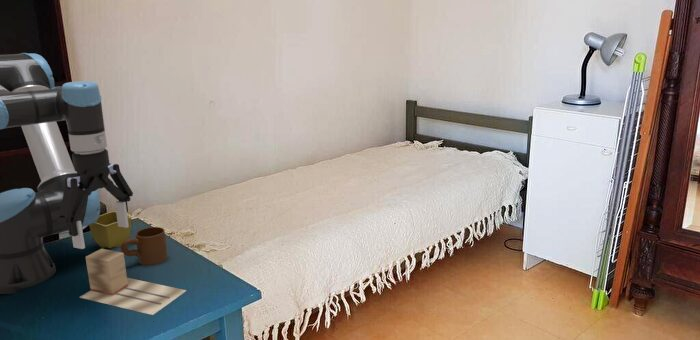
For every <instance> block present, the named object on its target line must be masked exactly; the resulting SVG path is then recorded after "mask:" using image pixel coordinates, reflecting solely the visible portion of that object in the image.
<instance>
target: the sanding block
mask: <svg viewBox="0 0 700 340" xmlns="http://www.w3.org/2000/svg"><path fill="white" fill-rule="evenodd" d="M125 260H126V259H125V255H124V253H122V251H116V250H112V249H111V250H109V249H105V248H99V249H98V250H96V251H94V252H92V253H90V254H88V255H86V256H85V262H86V269H87V270H86V271H87V276H88V283H89V289H90V290H89V291H95V292H100V293H104V294H108V295H115V294H116V293H118V292H119V291H121V290H123V289H124V288H126V287H127V286H128V282H127V278H128V277H127V276H128V275H127V270H126V269H127V268H126V261H125Z"/></svg>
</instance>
